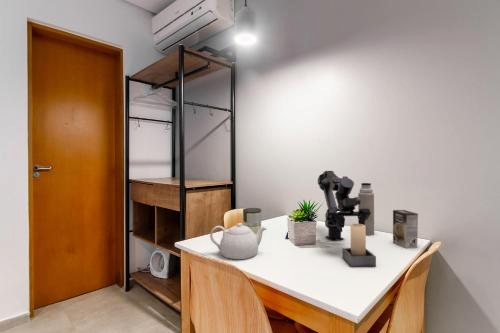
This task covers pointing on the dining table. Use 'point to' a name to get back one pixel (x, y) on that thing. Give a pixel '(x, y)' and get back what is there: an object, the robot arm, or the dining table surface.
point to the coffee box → (405, 228)
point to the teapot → (238, 241)
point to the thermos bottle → (367, 206)
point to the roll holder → (359, 259)
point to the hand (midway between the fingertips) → (352, 231)
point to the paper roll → (358, 240)
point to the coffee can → (252, 219)
